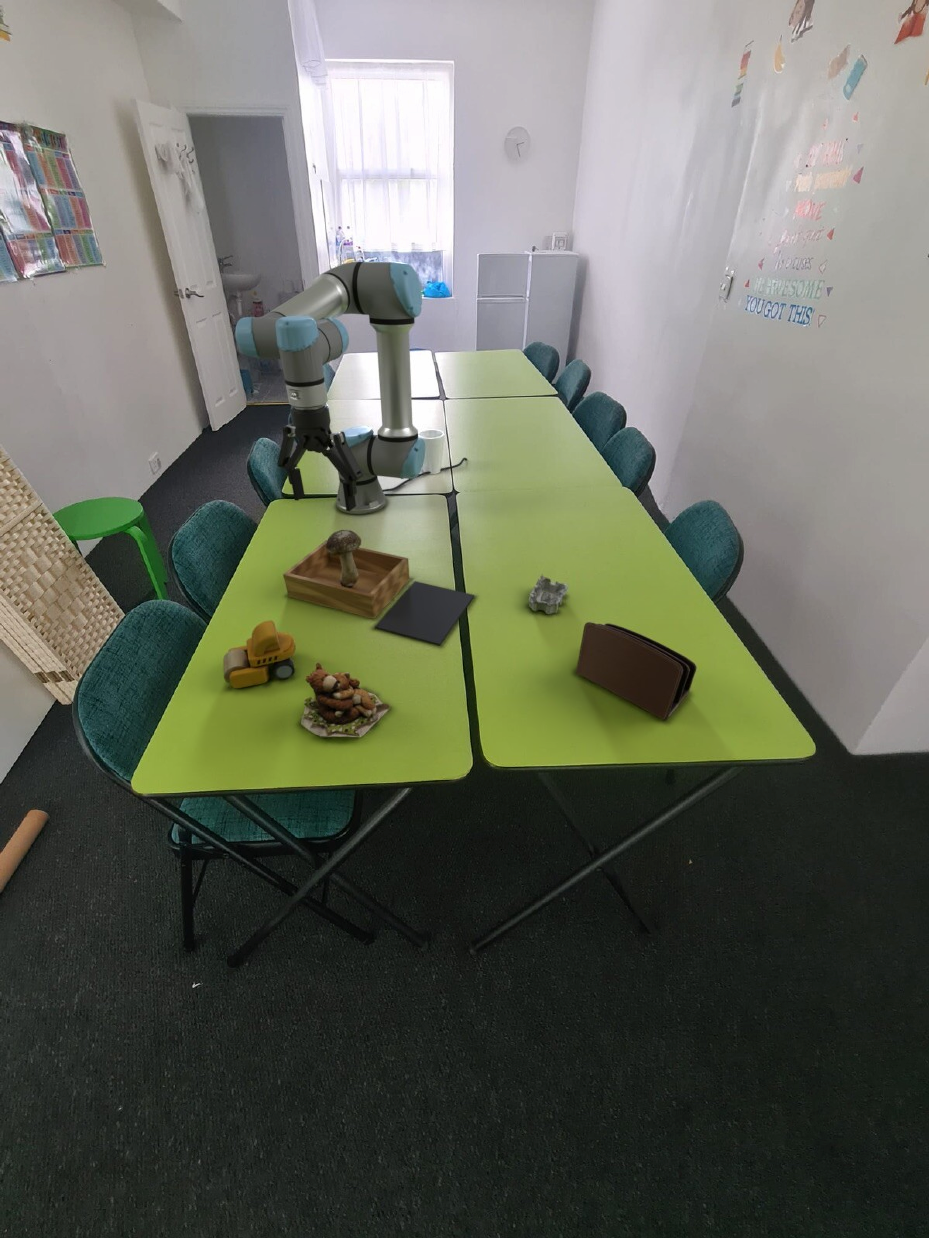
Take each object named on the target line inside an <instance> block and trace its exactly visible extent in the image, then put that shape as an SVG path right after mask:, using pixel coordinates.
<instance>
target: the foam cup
mask: <svg viewBox="0 0 929 1238" xmlns="http://www.w3.org/2000/svg"><path fill="white" fill-rule="evenodd" d="M418 438H421V439H423V440H424V441H425V445H426V451H425V459H424V463H423V466H422V471H423V472H422V473H424V472H428V471H430V472H431V473H429V474H428V475H436V474H439V473H441V471H440V469H441V468H442V465H443V455H444V444H445V431H443V430H440V429H431V428H430V429H423V430H420V431H418Z"/></svg>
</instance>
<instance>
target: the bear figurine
mask: <svg viewBox="0 0 929 1238" xmlns="http://www.w3.org/2000/svg"><path fill="white" fill-rule="evenodd" d="M305 682H306V683H308V684H309V687H311V688H312V691H313V694H314V696H315V697H314V698H315V699H314V698H313V697H311V696H310V697H308V698H305V699H304V700H303V703H304V706H305V708H304V711H303V714H302V717H301V719H300V724H301V726H303V727H304V728H305V729H306V730H308V731H309V732H311V733H312V734H314V735H316V736H317V737H319V738H321V739H322V738H330V737H340V738H341V737H342V738H343V737H345V738H346V737H347V738H361V737H363V736H364V735H365V734H366V733H367V732H368V731H370V730H371V729H372V728H373V726H375V724H376V723H377V722H378V721H379V720H380V719H381V718H382V717H383V716H384V715H385V714H386V713H387V712H388V711H389V710H390V708H391V706H390V704H388V703H385V702H384V703H383V702H382V701H381V700H380V699H379V698H378V696H377V695H376V694H374V693H372V692H369V691H368V690H367V691H366V690H365V689H363V688H361V687H360V684H361V681H360V680H359V679H358V678H355V677H351V674H350V672H349V671H346V672H341V671H339V672H335V673H333V674H330V672H328V671H326V670H325V669H324V668H323V667H322V664H321V663H320V662H316V663H315V670H312V671H311V672H310V674H309V675H306V677H305Z"/></svg>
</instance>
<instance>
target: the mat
mask: <svg viewBox="0 0 929 1238" xmlns="http://www.w3.org/2000/svg"><path fill="white" fill-rule="evenodd" d="M474 598H475V595H474V594H470V593H467V592H462V591H459V590H455V589H449V588H446V587H442V586H437V585H433V584H428V583H424V582H421V581H420V582H419V581H416V580H415V581H413V583H412V584H411V585H410V586H409V587H408V589H407V590H406V591H405V592H404V593H403V594H402V595H401V597H400V598H399V599H398V600H397V601H396V602H395V603H394V604H393V606H392V607H391V608H390V609H389V610H388V611H387V612H386V614H385V615H383V617H382V618H381V619H380V620H379V621H378V622H377V623H376V624H375V626H374V629H377V630H379V631H383V632H385V633H386V632H387V633H390V634H394V635H398V636H402V637H405V638H409V639H412V640H416V641H420V642H423V643H428V644H431V645H434V646H439V647H440V646H441V645H442V643H443V642H444V641H445V639H446V638H447V637H448V635H449V633H450V632H451V631H452V629H453V628H454V626H455V625H456V624H457V623H458V621H459V620H460V618H461V616H462V615H463V614H464V613H465V611H466V609H467V608H468V607H469V605H470V604H471V602H472V601H473V600H474Z"/></svg>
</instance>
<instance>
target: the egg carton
mask: <svg viewBox="0 0 929 1238" xmlns="http://www.w3.org/2000/svg"><path fill="white" fill-rule="evenodd" d="M536 581H537V582H536V584H535V585H534V586H533V589H532V590H531V591H530V593H529V598H528V602H529V606H528V607H529V608H531V611H533V612H538V611H544V612H545V614H548V615H551V614H557V613H558V609H559V606H561V605H562V603H563V602H562V601H563V599H565V597H566V593H567V591H568V589H569V585H568V584H565V583H564V582H561V583H560V582H559V581H557V580H556V581H555V582H551V581H552V580H551V579H550V578H549V577H546V576H544V574H541V575H540V576H539V578H538V579H537V580H536Z"/></svg>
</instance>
